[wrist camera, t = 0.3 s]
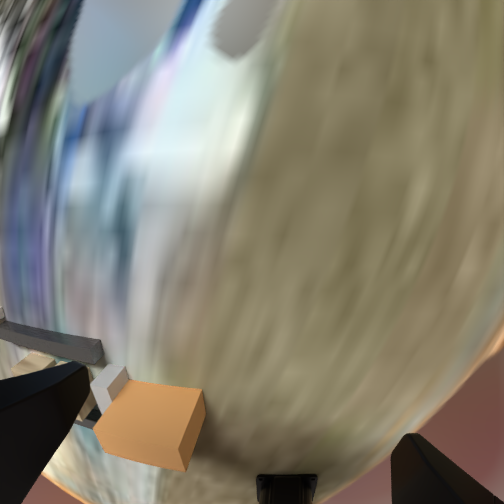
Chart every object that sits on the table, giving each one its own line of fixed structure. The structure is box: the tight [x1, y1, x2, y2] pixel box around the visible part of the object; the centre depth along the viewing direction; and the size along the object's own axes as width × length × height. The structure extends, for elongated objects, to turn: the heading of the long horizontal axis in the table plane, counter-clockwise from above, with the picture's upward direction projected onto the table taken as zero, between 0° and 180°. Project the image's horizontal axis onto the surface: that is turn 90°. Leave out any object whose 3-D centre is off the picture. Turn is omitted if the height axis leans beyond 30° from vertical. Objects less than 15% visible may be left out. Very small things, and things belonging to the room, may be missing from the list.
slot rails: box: [0, 321, 104, 429], centre depth 24 cm, size 11×15×2 cm
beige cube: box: [55, 361, 97, 421], centre depth 23 cm, size 4×4×4 cm
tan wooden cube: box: [11, 353, 56, 377], centre depth 23 cm, size 4×4×4 cm
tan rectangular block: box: [90, 364, 206, 472], centre depth 20 cm, size 6×9×7 cm
